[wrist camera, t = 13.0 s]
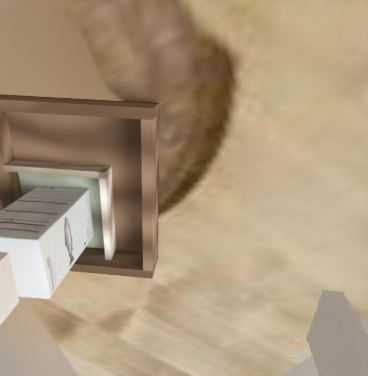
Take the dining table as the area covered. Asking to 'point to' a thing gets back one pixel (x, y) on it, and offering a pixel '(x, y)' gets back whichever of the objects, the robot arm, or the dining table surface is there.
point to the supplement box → (45, 236)
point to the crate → (90, 171)
